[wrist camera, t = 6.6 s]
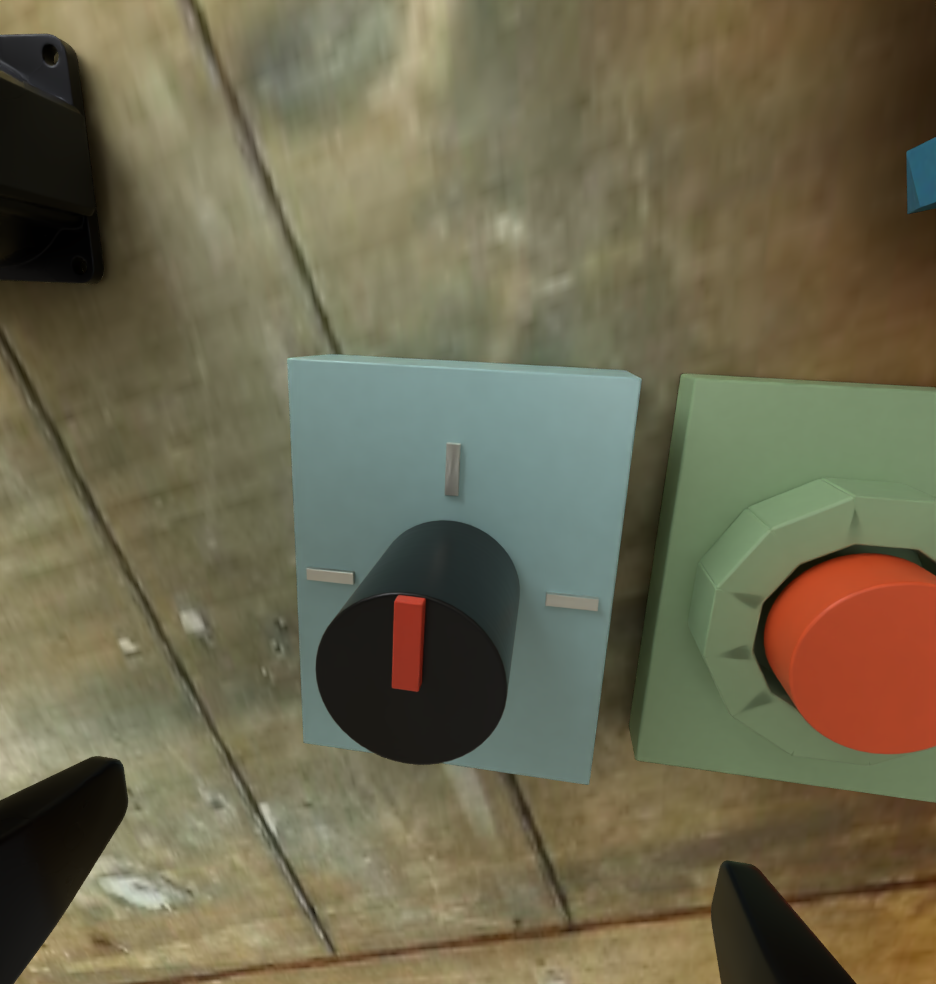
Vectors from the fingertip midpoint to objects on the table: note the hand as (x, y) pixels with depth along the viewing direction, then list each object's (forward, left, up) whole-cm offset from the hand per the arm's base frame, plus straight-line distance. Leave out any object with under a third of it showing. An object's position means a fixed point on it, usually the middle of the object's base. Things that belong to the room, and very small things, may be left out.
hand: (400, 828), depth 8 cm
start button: (+10, 0, -8) cm, 12 cm away
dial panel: (-1, 0, -11) cm, 11 cm away
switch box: (+10, 0, -11) cm, 15 cm away
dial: (-1, 0, -8) cm, 8 cm away
